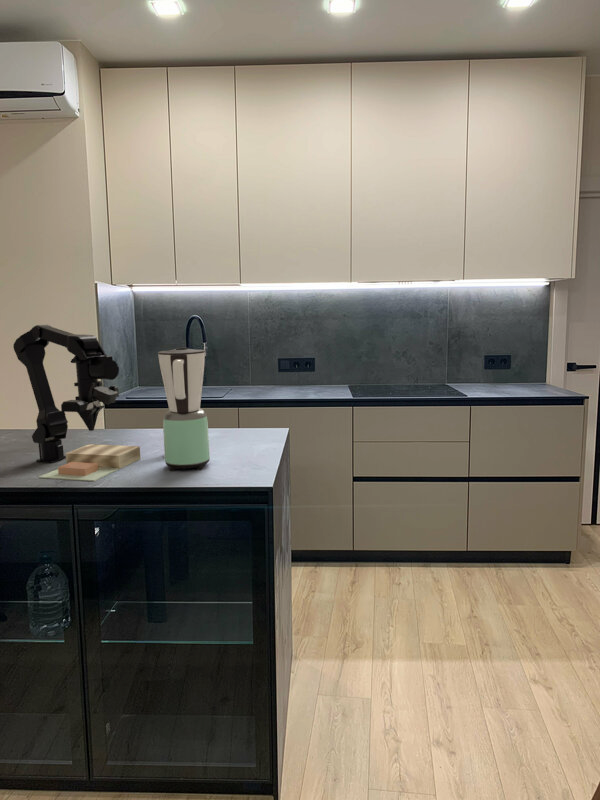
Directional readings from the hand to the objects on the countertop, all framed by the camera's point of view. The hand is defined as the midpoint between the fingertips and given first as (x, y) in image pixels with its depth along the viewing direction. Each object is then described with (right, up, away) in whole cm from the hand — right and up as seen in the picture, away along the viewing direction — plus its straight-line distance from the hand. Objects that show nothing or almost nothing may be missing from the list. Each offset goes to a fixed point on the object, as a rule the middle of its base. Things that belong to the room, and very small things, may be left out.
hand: (91, 430), depth 179 cm
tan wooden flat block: (+2, -10, +6) cm, 12 cm away
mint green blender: (+29, -11, -1) cm, 31 cm away
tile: (-2, -10, -6) cm, 11 cm away
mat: (-2, -12, -6) cm, 13 cm away
